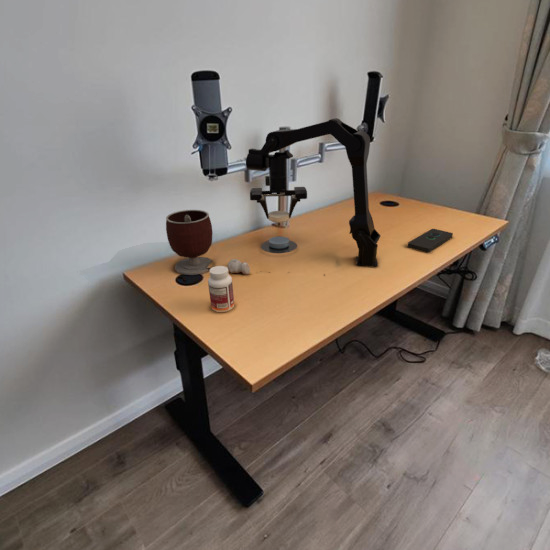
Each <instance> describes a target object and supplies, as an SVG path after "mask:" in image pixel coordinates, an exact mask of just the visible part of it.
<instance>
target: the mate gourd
mask: <svg viewBox="0 0 550 550" xmlns="http://www.w3.org/2000/svg"><path fill="white" fill-rule="evenodd" d="M165 232H166V237H167V241H168V244H169V247H170V249H171V250H172V251H173V252H174V253H175V254H176V255H177V256H179V257H182V258H184V259H182V260H181V259H180V261H178V262H177V263H175V266H174V268H175V271H176V272H177V273H178V274H181V275H184V276H196V275H201V274H205V273H207V272H210V269H211V268H212V267H209V266H210V265H211V263H212V262H213V260H212V259H211V258H209V257H205V256H203V255H205V254H207V253H208V251H209V250H210V248H211V246H212V244H213V224H212V222H211V218H210V214H209V212H208V211H205V210H201V209H184V210H178V211H174V212H172V213H169V214H168V215H167V216H166V217H165Z"/></svg>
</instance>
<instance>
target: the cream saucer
mask: <svg viewBox="0 0 550 550" xmlns="http://www.w3.org/2000/svg"><path fill="white" fill-rule="evenodd" d="M267 220H268V221H270V222H272V223H277V224H281V223H285V222H287V221H289V220H290V218H289V211H286V210H274V211H270V212H268V219H267Z"/></svg>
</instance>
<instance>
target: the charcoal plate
mask: <svg viewBox="0 0 550 550" xmlns="http://www.w3.org/2000/svg"><path fill="white" fill-rule="evenodd" d="M297 248H298V243H297V242H295V241H293V240H291V239H289V246H287V247H285V248H282V249H275V248H272V247H270V246H269V240H266V241H264V242H263V243H261V245H260V249H261V250H262V251H264V252H267V253H271V254H286V253H291V252H293V251H295V250H296V249H297Z"/></svg>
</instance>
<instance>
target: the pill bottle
mask: <svg viewBox="0 0 550 550" xmlns="http://www.w3.org/2000/svg"><path fill="white" fill-rule="evenodd" d="M210 268H211V269H210V270H209V278H208V279H207V285H208V292H209V300H210V307H211V309H212V311H214V312H217V313H227V312H229V311H231V310H232V309H233V308H234V307H235V295H234V294H235V293H234V285H233V278H232V276H231V274H229V270H228V268H227V266H225V265H216V266H212V267H210Z"/></svg>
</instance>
